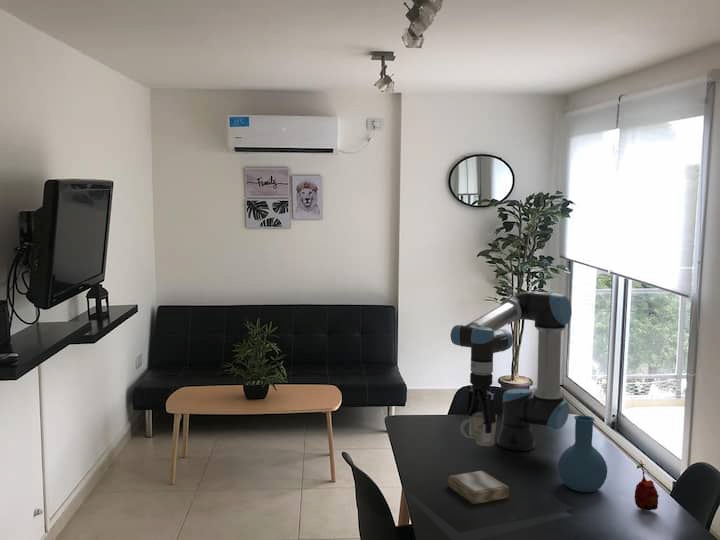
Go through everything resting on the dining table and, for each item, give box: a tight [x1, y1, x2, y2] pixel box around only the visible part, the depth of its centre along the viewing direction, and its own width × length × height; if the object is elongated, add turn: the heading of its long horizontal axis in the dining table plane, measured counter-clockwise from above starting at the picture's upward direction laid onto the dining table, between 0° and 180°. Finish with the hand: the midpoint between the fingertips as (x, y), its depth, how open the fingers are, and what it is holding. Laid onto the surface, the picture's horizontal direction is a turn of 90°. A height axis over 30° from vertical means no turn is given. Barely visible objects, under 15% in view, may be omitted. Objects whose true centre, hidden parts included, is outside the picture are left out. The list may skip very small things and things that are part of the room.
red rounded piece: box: [634, 461, 660, 511], centre depth 215 cm, size 8×7×15 cm
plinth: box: [448, 470, 510, 505], centre depth 226 cm, size 14×16×4 cm
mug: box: [459, 411, 498, 447], centre depth 225 cm, size 8×13×10 cm, turn 79°
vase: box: [557, 414, 608, 493], centre depth 230 cm, size 16×16×25 cm
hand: (479, 438), depth 224 cm, fingers closed on mug, 7 cm apart
